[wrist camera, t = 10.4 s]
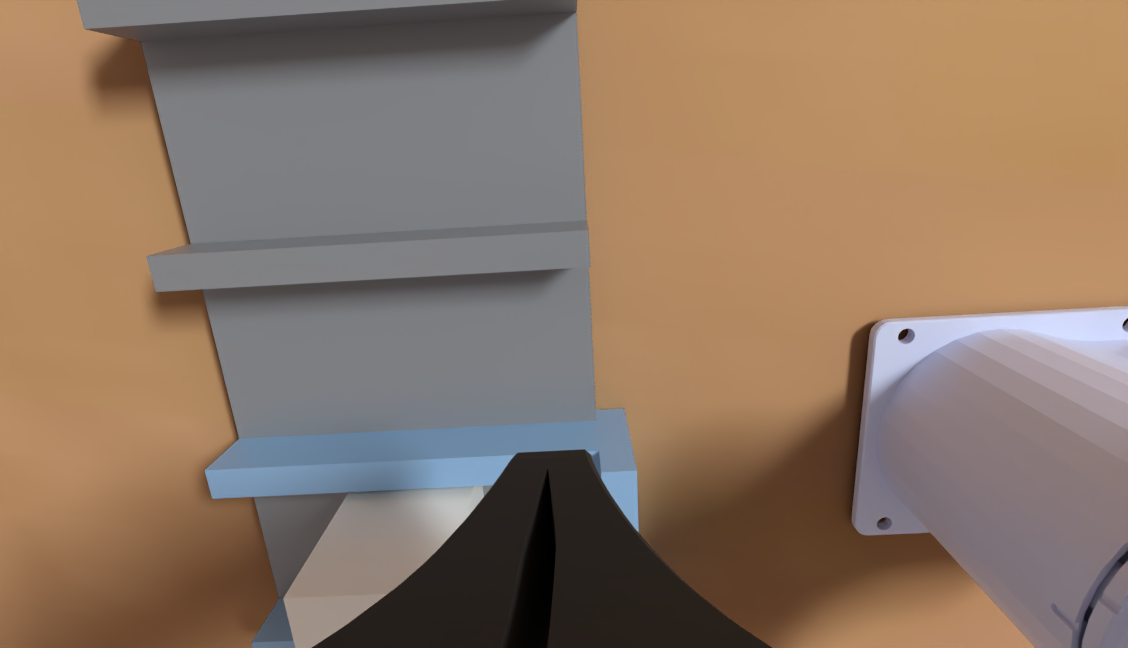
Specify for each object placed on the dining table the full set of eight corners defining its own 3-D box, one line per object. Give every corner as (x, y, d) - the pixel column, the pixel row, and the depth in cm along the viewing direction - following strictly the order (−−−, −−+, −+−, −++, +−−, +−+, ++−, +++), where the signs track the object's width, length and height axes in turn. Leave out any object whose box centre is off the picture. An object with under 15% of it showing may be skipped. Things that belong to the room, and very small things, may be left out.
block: (480, 462, 20) (444, 591, 15) (491, 561, 21) (463, 715, 16) (363, 468, 20) (283, 598, 15) (380, 566, 22) (313, 721, 16)
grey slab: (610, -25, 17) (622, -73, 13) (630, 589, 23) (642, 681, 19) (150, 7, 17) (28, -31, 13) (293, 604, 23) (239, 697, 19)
